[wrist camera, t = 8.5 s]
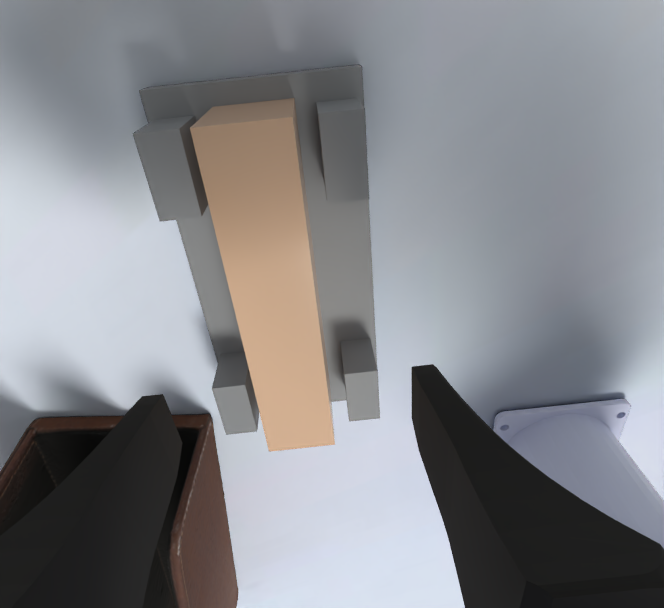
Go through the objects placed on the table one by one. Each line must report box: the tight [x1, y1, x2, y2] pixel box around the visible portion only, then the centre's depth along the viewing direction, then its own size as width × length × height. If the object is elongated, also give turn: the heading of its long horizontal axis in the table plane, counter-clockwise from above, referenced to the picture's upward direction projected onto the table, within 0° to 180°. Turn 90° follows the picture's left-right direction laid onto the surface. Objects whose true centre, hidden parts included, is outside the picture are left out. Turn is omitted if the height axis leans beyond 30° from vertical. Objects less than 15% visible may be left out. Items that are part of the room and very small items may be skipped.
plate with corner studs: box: [133, 65, 380, 435], centre depth 20 cm, size 16×8×4 cm, turn 5°
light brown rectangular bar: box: [190, 98, 335, 451], centre depth 18 cm, size 14×3×4 cm, turn 5°
